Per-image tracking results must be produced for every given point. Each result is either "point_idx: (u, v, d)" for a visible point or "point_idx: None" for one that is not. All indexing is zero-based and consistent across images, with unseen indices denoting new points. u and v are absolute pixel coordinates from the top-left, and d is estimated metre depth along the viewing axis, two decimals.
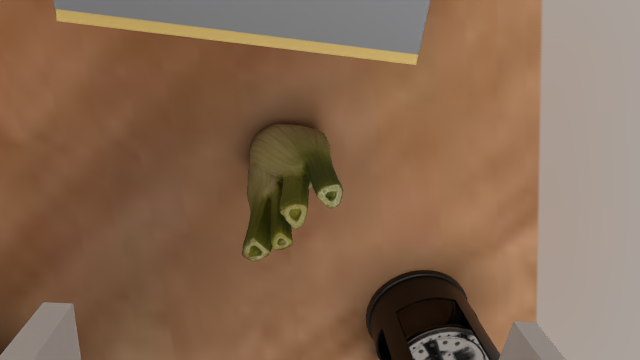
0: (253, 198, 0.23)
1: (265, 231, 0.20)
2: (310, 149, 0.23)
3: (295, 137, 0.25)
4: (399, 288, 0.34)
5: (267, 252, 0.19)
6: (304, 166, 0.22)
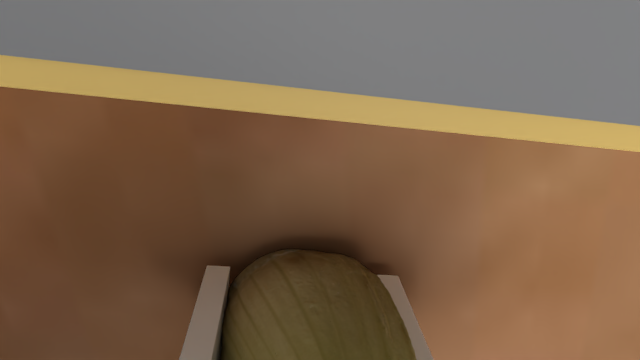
0: None
1: None
2: None
3: (327, 329, 0.10)
4: None
5: None
6: None
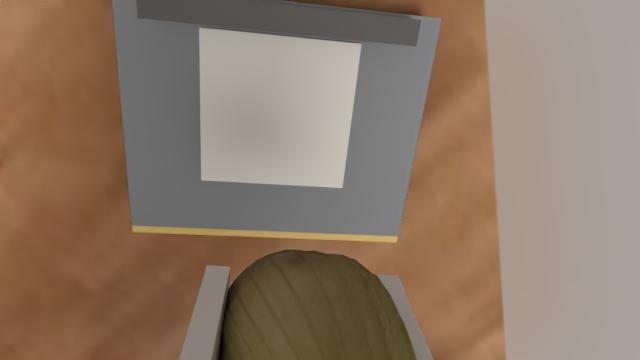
0: None
1: None
2: None
3: (328, 330, 0.10)
4: None
5: None
6: None
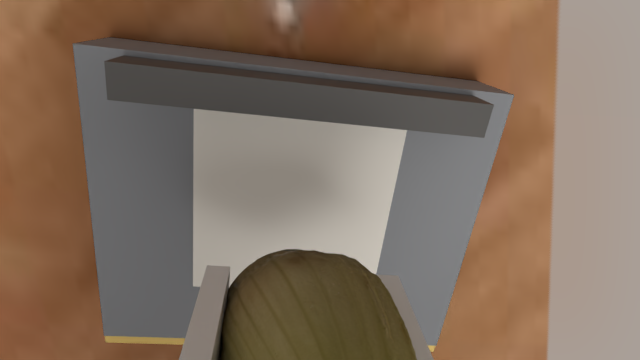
0: None
1: None
2: None
3: (328, 329, 0.10)
4: None
5: None
6: None
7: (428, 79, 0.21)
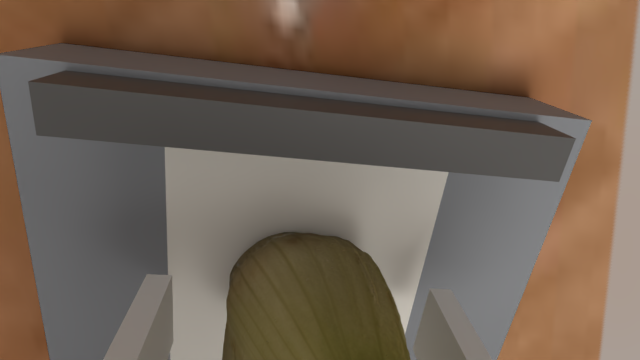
0: None
1: None
2: (364, 358, 0.09)
3: (322, 298, 0.11)
4: None
5: None
6: None
7: (473, 98, 0.16)
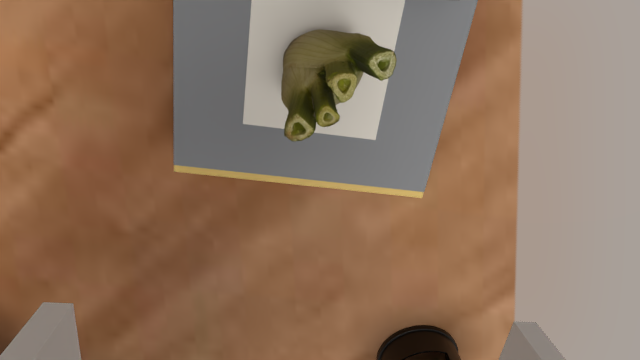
0: (291, 94, 0.22)
1: (307, 113, 0.19)
2: (353, 40, 0.21)
3: (334, 35, 0.23)
4: (404, 340, 0.43)
5: (311, 130, 0.18)
6: (348, 53, 0.20)
7: None
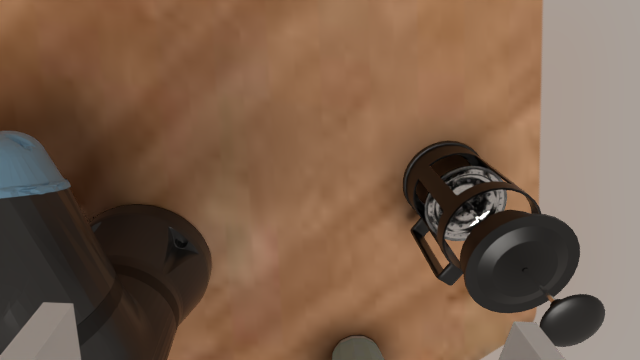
0: None
1: None
2: None
3: None
4: (431, 152, 0.43)
5: None
6: None
7: None
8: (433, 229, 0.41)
